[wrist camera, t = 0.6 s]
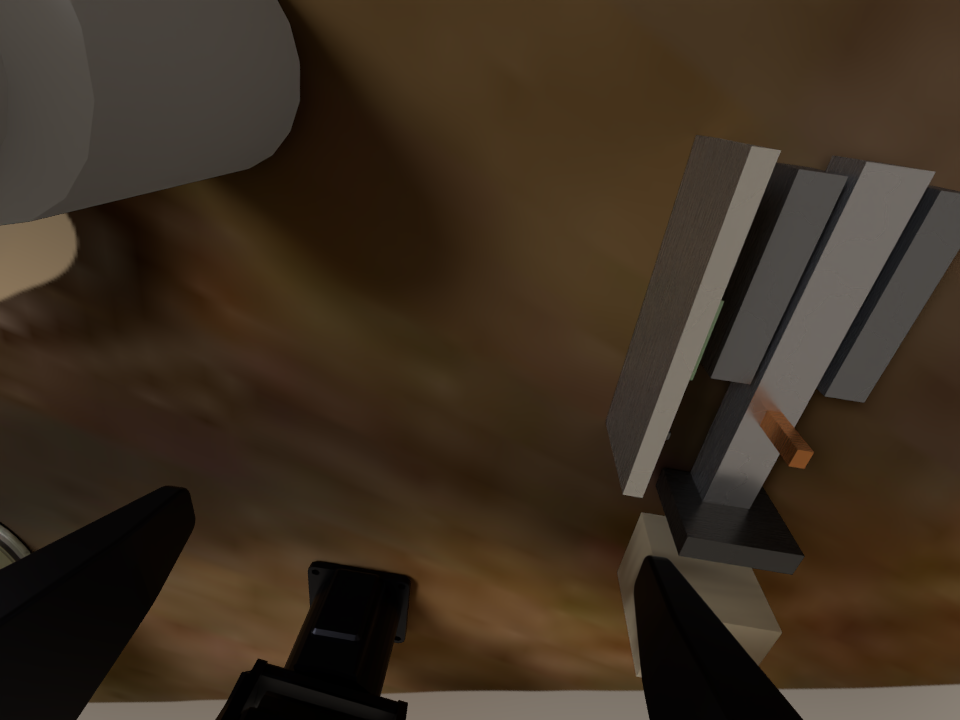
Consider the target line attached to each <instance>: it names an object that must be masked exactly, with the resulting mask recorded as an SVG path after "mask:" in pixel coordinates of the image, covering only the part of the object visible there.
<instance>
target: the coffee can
mask: <svg viewBox="0 0 960 720" xmlns="http://www.w3.org/2000/svg"><path fill="white" fill-rule="evenodd" d="M29 554H31V553H30V552H29V550H28V549H27V548H26V547H25V546H24V545H23V544H22V542H21V541H19V539H18V538H17V537H16V536H14V535H13V534H12V533H11V532H10V531H9V530H7V529H6V528H4V527H3V526H2V525H0V569H2V568H4V567H6V566H8V565H10V564H12V563H14V562H16V561H17V560H19V559H21V558H23V557H25V556H27V555H29Z"/></svg>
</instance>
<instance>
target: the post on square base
mask: <svg viewBox="0 0 960 720" xmlns="http://www.w3.org/2000/svg"><path fill="white" fill-rule="evenodd" d="M826 171H827V172H831V173H835V174H840V175H844V176H848V178H847V181H846V183H845V185H844V187H843V189H842V191H841V193H840V195H839V198H838V200H837V202H836V204H835V206H834V208H833V210H832V212H831V214H830V217H829V219H828V221H827V223H826V225H825V227H824V229H823V231H822V234H821V236H820V238H819V240H818V242H817V244H816V246H815V248H814V250H813V253H812V255H811V257H810V259H809V261H808V263H807V265H806V267H805V269H804V272H803V274H802V276H801V278H800V280H799V282H798V284H797V286H796V289H795V291H794V293H793V295H792V297H791V299H790V301H789V303H788V305H787V308H786V310H785V312H784V314H783V316H782V318H781V320H780V322H779V325H778V327H777V329H776V331H775V333H774V335H773V337H772V339H771V341H770V344H769V346H768V348H767V350H766V352H765V354H764V356H763V358H762V361H761V363H760V365H759V367H758V369H757V371H756V373H755V375H754V377H753V380H752V382H751V384H744V383H738V382H732V381H731V383H730V385H729V387H728V390H727V392H726V394H725V396H724V399H723V401H722V403H721V405H720V408H719V410H718V412H717V414H716V416H715V419H714V421H713V423H712V425H711V428H710V430H709V432H708V434H707V437H706V439H705V441H704V443H703V445H702V448H701V450H700V452H699V454H698V457H697V459H696V461H695V463H694V466H693V468H692V470H691V472H684V471H677V470H671V469H665V468H663V469H662V471H661V474H660V476H659V479H658V481H657V484H656V488H657V491H658V494H659V497H660V500H661V504H662V507H663V510H664V513H665V516H666V519H667V522H668V525H669V528H670V531H671V534H672V537H673V540H674V543H675V546H676V549H677V552H678V555H679V556H683V557H689V558H695V559H701V560H707V561H713V562H719V563H725V564H731V565H737V566H743V567H749V568H755V569H761V570H767V571H773V572H779V573H785V574H791V575H792V574H793V573H794V571H795V570H796V568H797V567H798V565H799V564H800V562H801V561H802V560H803V558H804V557H805V556H804V554H803V552H802V551H801V549H800V548H799V546H798V544H797V543H796V541H795V539H794V538H793V536H792V534H791V533H790V531H789V529H788V528H787V526H786V524H785V523H784V521H783V519H782V518H781V516H780V514H779V513H778V511H777V509H776V508H775V506H774V504H773V503H772V501H771V500H770V498H769V496H768V495H767V493H766V491H765V490H764V488H763V486H762V485H763V483H764V482H765V480H766V478H767V476H768V474H769V473H770V471H771V469H772V467H773V465H774V463H775V462H776V460H777V458H778V456H779V454H780V455H781V456H782V458H783V459H784V461H785V462H786V463H787V465H788V466H790V467H797V468H803V469H804V468H805V467H806V465H807V463H808V462H809V460H810V458H811V457H812V455H813V453H814V451H813V450H812V449H811V448H810V447H809V445H808V444H807V443H806V442H805V440H804V439H803V438H802V437H801V435H800V434H799V433H798V432H797V431H796V429H795V428H794V427H795V425H796V424H797V422H798V420H799V418H800V416H801V415H802V413H803V411H804V409H805V407H806V406H807V404H808V402H809V400H810V398H811V396H812V395H813V393H814V391H815V389H816V387H817V386H818V384H819V382H820V380H821V378H822V377H823V375H824V373H825V371H826V369H827V368H828V366H829V364H830V362H831V360H832V358H833V357H834V355H835V353H836V351H837V349H838V348H839V346H840V344H841V342H842V340H843V339H844V337H845V335H846V333H847V331H848V330H849V328H850V326H851V324H852V322H853V320H854V319H855V317H856V315H857V313H858V311H859V310H860V308H861V306H862V304H863V302H864V301H865V299H866V297H867V295H868V293H869V291H870V290H871V288H872V286H873V284H874V282H875V281H876V279H877V277H878V275H879V273H880V272H881V270H882V268H883V266H884V264H885V263H886V261H887V259H888V257H889V255H890V253H891V252H892V250H893V248H894V246H895V244H896V243H897V241H898V239H899V237H900V235H901V234H902V232H903V230H904V228H905V226H906V225H907V223H908V221H909V219H910V217H911V215H912V214H913V212H914V210H915V208H916V206H917V205H918V203H919V201H920V199H921V197H922V196H923V194H924V192H925V190H926V188H927V187H928V185H929V183H930V181H931V179H932V177H933V176H934V174H935V172H933V171H927V170H921V169H915V168H910V167H904V166H898V165H892V164H885V163H879V162H872V161H865V160H859V159H852V158H845V157H839V156H832V158H831V160H830V162H829V164H828V167H827V169H826Z"/></svg>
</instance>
